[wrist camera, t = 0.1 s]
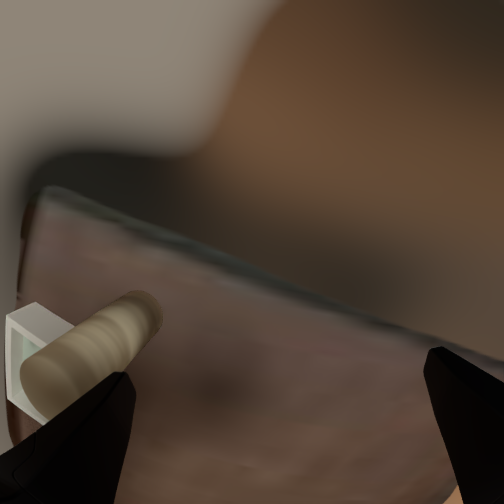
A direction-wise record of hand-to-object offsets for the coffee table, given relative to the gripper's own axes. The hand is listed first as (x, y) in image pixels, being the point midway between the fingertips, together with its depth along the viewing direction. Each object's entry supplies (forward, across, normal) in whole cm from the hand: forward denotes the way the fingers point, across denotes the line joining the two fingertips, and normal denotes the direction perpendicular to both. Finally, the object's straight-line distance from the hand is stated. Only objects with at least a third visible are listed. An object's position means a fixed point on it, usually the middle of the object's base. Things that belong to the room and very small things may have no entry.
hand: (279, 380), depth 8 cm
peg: (+14, +11, +6) cm, 19 cm away
